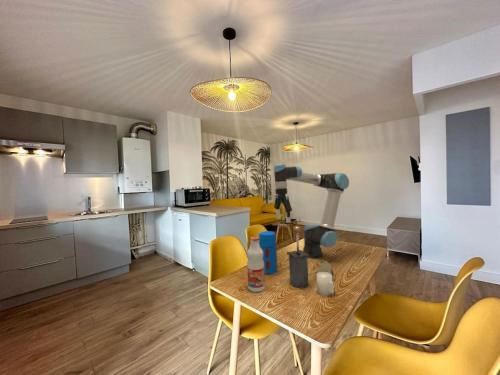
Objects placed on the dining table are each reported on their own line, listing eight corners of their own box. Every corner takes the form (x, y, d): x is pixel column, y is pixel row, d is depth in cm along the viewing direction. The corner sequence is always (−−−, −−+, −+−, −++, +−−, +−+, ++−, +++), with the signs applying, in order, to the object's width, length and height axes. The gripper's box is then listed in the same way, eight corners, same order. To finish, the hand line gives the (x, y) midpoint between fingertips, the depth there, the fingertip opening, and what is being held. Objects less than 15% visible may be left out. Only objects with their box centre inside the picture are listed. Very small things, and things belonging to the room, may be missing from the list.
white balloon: (326, 287, 112) (325, 270, 112) (339, 296, 103) (338, 278, 103) (314, 289, 110) (313, 273, 110) (326, 299, 100) (326, 281, 100)
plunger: (300, 255, 122) (299, 224, 122) (308, 259, 115) (307, 227, 114) (288, 257, 119) (287, 226, 119) (296, 261, 112) (294, 229, 112)
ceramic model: (333, 284, 114) (332, 266, 114) (312, 280, 120) (312, 263, 120) (337, 274, 126) (336, 258, 126) (318, 271, 132) (317, 255, 132)
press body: (299, 276, 126) (298, 248, 126) (312, 285, 114) (311, 255, 114) (285, 279, 123) (284, 251, 122) (296, 289, 111) (295, 258, 110)
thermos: (276, 275, 129) (274, 235, 128) (259, 274, 131) (257, 235, 130) (277, 268, 140) (276, 231, 139) (261, 267, 142) (260, 231, 141)
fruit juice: (268, 287, 114) (266, 237, 114) (256, 294, 108) (254, 241, 107) (256, 282, 121) (254, 234, 120) (244, 288, 115) (242, 238, 114)
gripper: (268, 188, 145) (270, 218, 146) (285, 188, 121) (287, 224, 122) (277, 187, 147) (279, 216, 148) (296, 187, 124) (298, 223, 124)
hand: (283, 220), depth 135 cm, fingers open, 13 cm apart
